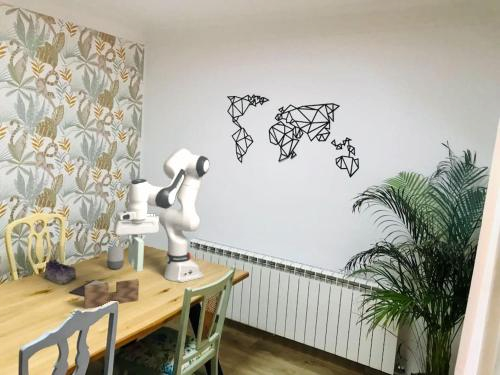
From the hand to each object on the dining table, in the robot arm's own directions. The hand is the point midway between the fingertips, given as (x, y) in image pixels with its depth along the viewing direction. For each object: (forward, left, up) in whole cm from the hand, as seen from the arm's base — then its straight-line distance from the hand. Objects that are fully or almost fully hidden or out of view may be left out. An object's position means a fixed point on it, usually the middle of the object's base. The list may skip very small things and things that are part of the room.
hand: (136, 243), depth 177 cm
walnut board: (+9, -4, -30) cm, 31 cm away
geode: (+29, -44, -30) cm, 61 cm away
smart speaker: (-2, -51, -30) cm, 59 cm away
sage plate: (0, 0, -11) cm, 11 cm away
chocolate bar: (+16, -25, -31) cm, 43 cm away
